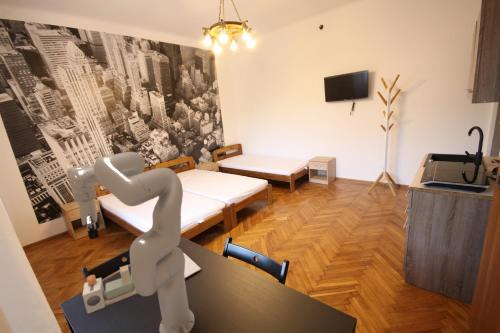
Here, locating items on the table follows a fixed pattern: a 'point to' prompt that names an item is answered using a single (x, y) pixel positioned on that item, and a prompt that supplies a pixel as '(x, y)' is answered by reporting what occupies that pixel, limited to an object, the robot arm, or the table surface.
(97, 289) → the cabinet
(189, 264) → the plate
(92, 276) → the knob
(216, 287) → the table surface
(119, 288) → the carriage
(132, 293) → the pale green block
